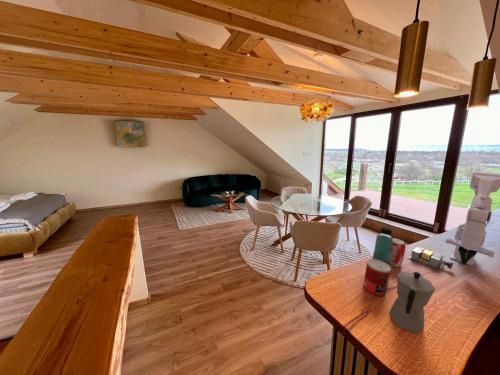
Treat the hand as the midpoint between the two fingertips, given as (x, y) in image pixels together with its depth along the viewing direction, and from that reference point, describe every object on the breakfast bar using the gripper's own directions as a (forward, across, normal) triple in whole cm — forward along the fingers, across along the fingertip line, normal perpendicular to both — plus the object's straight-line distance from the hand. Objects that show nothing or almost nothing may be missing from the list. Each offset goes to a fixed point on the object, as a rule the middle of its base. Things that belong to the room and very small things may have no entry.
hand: (463, 264), depth 93 cm
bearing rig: (+5, -12, 0) cm, 13 cm away
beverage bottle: (+6, -23, -26) cm, 35 cm away
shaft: (+4, -10, 0) cm, 11 cm away
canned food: (+5, -18, -42) cm, 46 cm away
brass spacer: (+5, -12, 0) cm, 13 cm away
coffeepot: (+5, -5, -50) cm, 51 cm away
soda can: (+6, -21, -16) cm, 27 cm away
